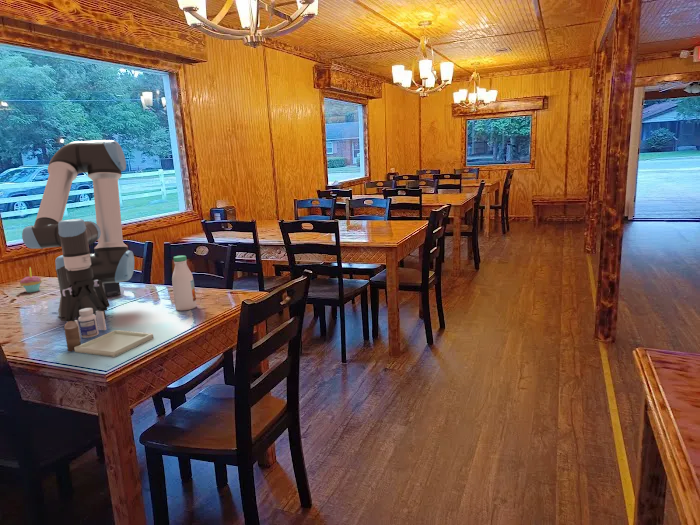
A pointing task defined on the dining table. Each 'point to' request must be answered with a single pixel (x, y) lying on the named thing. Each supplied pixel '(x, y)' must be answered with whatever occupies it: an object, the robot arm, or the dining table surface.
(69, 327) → the pepper shaker
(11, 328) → the dining table surface
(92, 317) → the pill bottle
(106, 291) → the small box
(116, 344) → the tray
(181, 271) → the milk bottle
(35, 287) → the cupcake
